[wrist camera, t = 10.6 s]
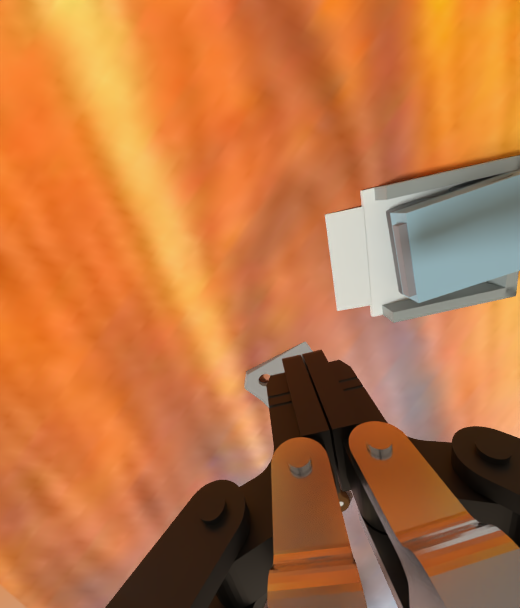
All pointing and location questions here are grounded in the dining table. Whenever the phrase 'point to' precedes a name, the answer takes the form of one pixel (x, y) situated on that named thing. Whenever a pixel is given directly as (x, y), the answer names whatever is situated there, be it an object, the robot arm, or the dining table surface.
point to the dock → (378, 252)
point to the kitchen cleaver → (260, 388)
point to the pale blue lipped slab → (457, 237)
